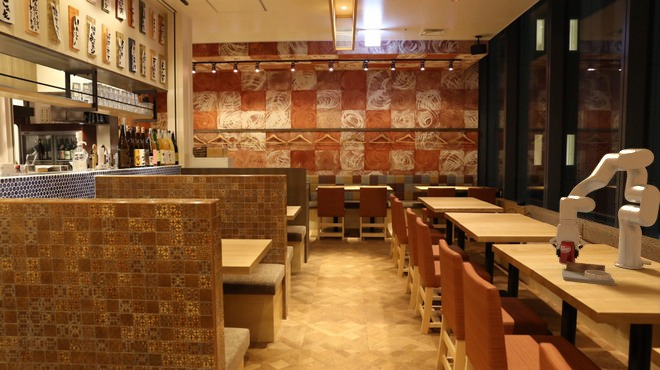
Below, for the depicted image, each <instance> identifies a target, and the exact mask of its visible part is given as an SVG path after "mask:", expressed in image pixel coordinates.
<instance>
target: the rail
mask: <svg viewBox="0 0 660 370" xmlns="http://www.w3.org/2000/svg"><path fill="white" fill-rule="evenodd" d="M565 267H566V268H565V271H572V272H582V273H584V272H585V271H586V270H599V271H604V272H606V265H605V264H594V263H585V262H576V261H575V262H567V263H566V265H565Z"/></svg>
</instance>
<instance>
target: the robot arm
mask: <svg viewBox="0 0 660 370" xmlns="http://www.w3.org/2000/svg"><path fill="white" fill-rule="evenodd" d="M654 158H655V156H654V153H653V152H652V150H649V149H647V148H626V149H622V150H620V151H619V152H617V153H616V152H614V153H613V152H611V153H606V154H605V155H604V156H602V158H601V159H600V160H599V163H598V164H597V165H596V167H595V168H594V170H593V171H592V172H591V174H590V175H589V176H588V177H587V178H585V179H584V180H582V181H581V182H580V183H578V184H577V185H576V186H574V187H573V189H572V190H571V192H570V193H569V195H568V196H567V197H566V196H565V197H561V198H560V200H559V223H557V226H556V235H555V236H554V237H552V238H551V239H549V240H548V241H549V243H550V244H551V245H552V246H553V248H555V255H556V256H557V258H559V247H560V244H561V241H573V242H575V247H576V254H575V260H577V259H578V257H579V256H580V250H582V249H583V248H584V247H585V246H586V245H587V242H586V241H585V240H584V239H582V238H581V237H580V229H579V225H578V224H581V221H580V220H579V219H578V218H577V217H578V216H577V215H578V212H580V213H589V212H590V213H591V212H593V210H594V209H595V208H596V201H594V199H593V198H592V197H591V198H590V197H588V196H587V195H588V194H590V193H591V192H593V191H596V190H598V189H601V188H604V187H605V186H606V187H607V185H608V184H609V182H610V181H611V180H612V178H613V177H614V175H615V174H616V172H618V171H623V172H625V171H626V174H627V175H626V176H627V177H626V183H625V189H624V198H625V200H626V201H627V202H630V203H635V204H625V205H622V206H621V207H620V208H619V210H618V213H617V217H618V225H619V233H618V235H619V237H618V253H617V261H614V262H613V265H614V266H616V267H619V268H622V269H629V270H643V269H644V265H647V266H652V261H651V260H644V259H642V258H641V253H642V251H641V250H642V238H643V237H642V235H643V233H642V229H641V227H651V226H653V225H654V224H655V223H656V221H657V219H658V213H659V209H660V208H659V207H660V190H659V189H658V187H656V186H655V185H651V184H647V183H648V171H647V169H646V167H648V166H650V165H651V164H652V163H653V162H654V160H655V159H654ZM636 204H640V205H636ZM555 242H556V243H555ZM580 243H581V244H580Z"/></svg>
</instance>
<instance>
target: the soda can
mask: <svg viewBox="0 0 660 370" xmlns="http://www.w3.org/2000/svg"><path fill="white" fill-rule="evenodd" d="M575 254H576V247H575V242H573V241H561V244H560V247H559V257H558V262H559V264H560V265H563V266H564V265H565V266H566V263H567V262H576V258H575Z"/></svg>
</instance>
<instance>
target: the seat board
mask: <svg viewBox="0 0 660 370" xmlns="http://www.w3.org/2000/svg"><path fill="white" fill-rule="evenodd" d="M561 274H562V279H563V281H569V282H570V281H571V282H579V283H587V284H596V285H598V284H599V285H607V286H616V282H615V280H614V278H613V276H612V273H610V272H607V271H605V272H604V271H599V270H586V271H585V272H584V273H582V272H572V271H566V270H561Z"/></svg>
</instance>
